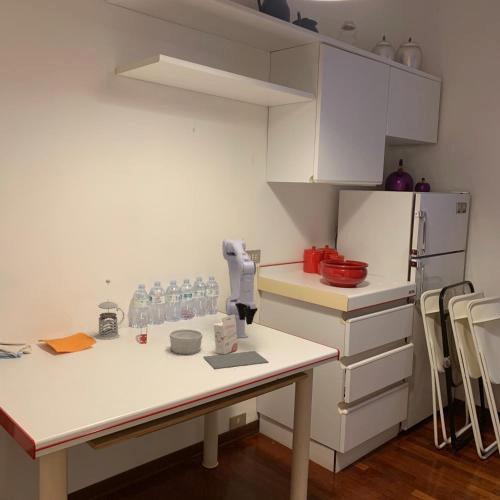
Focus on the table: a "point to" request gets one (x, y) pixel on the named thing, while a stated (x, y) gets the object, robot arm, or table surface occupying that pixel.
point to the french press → (108, 321)
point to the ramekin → (185, 341)
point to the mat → (235, 359)
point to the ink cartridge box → (226, 335)
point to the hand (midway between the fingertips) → (245, 322)
